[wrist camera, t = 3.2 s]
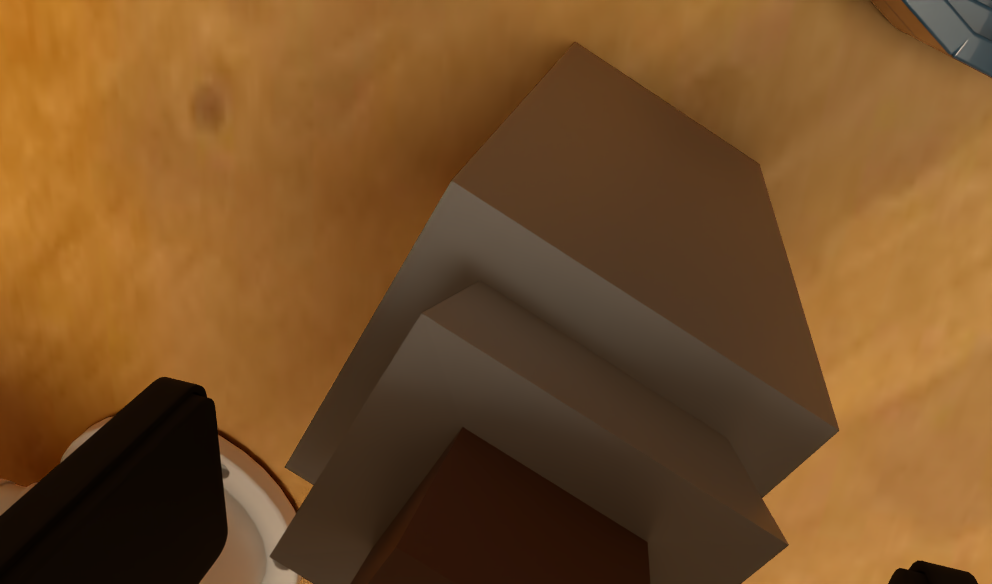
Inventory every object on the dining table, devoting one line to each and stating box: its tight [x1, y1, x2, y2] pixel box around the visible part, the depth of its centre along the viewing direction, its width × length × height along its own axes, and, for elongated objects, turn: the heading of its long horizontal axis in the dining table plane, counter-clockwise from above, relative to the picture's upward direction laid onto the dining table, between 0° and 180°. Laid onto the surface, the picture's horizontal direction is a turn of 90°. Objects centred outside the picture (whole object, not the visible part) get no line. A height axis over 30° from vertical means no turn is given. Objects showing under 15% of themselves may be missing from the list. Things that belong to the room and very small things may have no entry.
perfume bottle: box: [269, 42, 839, 584], centre depth 16 cm, size 7×7×18 cm
